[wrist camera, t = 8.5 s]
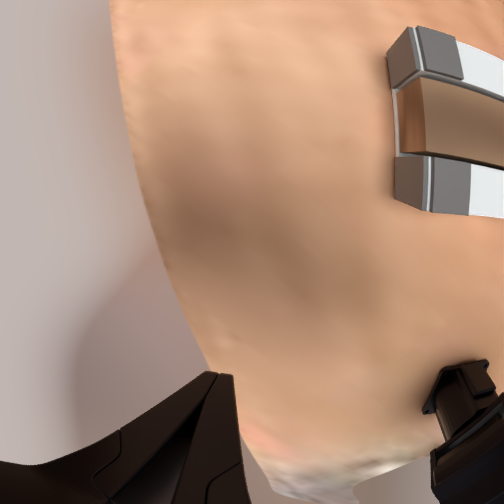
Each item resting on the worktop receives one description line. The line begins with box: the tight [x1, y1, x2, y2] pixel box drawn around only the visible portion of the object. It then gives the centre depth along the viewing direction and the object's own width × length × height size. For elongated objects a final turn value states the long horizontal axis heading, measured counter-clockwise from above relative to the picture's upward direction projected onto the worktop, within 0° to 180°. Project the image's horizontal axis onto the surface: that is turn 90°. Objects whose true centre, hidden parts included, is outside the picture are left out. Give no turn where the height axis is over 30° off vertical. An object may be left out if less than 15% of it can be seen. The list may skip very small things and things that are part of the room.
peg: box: [396, 77, 504, 171], centre depth 11 cm, size 4×10×4 cm, turn 92°
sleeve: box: [386, 26, 504, 218], centre depth 11 cm, size 10×14×6 cm
